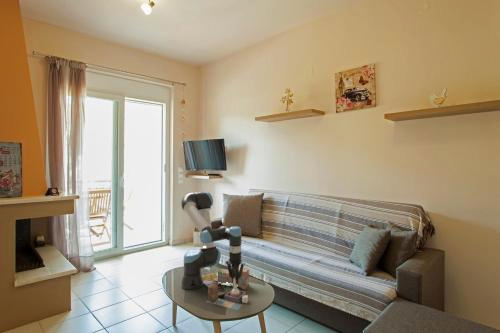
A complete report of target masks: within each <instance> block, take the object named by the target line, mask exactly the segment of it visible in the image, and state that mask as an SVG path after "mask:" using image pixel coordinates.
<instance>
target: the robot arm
mask: <svg viewBox="0 0 500 333" xmlns="http://www.w3.org/2000/svg"><path fill="white" fill-rule="evenodd" d="M180 205H181V209H182V211H183V212H184V213H185V214H187V215H188V217H189V218H190V220H191V222H193V224H194V226H195V227H196V229H197V230H198V231H199V239H200V240H199V241H200V242H201V247H200V249H192V250H191V249H190V250H189V251H187V252H185V253H184V255H183V276H182V280H181V282H180V283H181V288H182V289H184V290H187V291H192V290H197V289H200V288H202V287H203V286H204V280H203V276H202V273H201V272H202V271H201V270H202V269H205V268H208V267H214V266H216V265H218V264H219V263H220V261H221V256H222V255H221V250H220V249H219V248H218V247H217V245H216V244H215V242H217V241H223V240H224V241H225V240H226V241H227V240H228V242H229V246H228V247H229V253H228V254H229V255H228V256H229V259H228V260H227V261H225V264H226V266H227V270H228V272H229V276H230V277H232V283H233V287H232V289H236V288H237V284H238V282H239V278H241V276H242V272H243V268H245V266H246V263H244V262H243V260H242V228H241V226H236V225H235V226H230V227H229V226H225V225H224V226H223V225H222V226H220V227H218V228H214V229H213V228H212V221H211V214H210V211H211V209H212V206H214V198H213V196H212V194H211V193H210V192H208V191H198V192H190V193H187V194H185V195H184V196H183V198H182V199H181V204H180ZM231 267H232V268H231ZM239 267H240V270H239ZM237 289H238V288H237Z"/></svg>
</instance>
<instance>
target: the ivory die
mask: <svg viewBox="0 0 500 333" xmlns="http://www.w3.org/2000/svg"><path fill="white" fill-rule="evenodd" d="M248 302H249V295H247V294H246V295H243V297H242V300H241V303H246V304H248Z"/></svg>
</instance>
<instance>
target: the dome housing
mask: <svg viewBox="0 0 500 333" xmlns="http://www.w3.org/2000/svg"><path fill="white" fill-rule="evenodd" d="M232 290H233V288H231V289H230V290H229V291H228V292H227V293H225V294H224V300H226V301H230V302H234V303H238V304H240V303H241V302H242V297H243V295H247V291H244V290H240V289H238V290H239V291H240V292H241V295H240V296H239V297H234V296H230V291H232Z"/></svg>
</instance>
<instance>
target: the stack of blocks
mask: <svg viewBox="0 0 500 333" xmlns="http://www.w3.org/2000/svg"><path fill="white" fill-rule="evenodd" d="M240 267H241V266H239V270H240ZM231 268H232V267H231ZM249 271H250V268H246V267H243V272H242V276H241V278H239V282H238V284H237V285H238V287H240V288H239V289H241V288H242V290H247V288H248V287H249V286H250V284H249V282H250V281H249V280H250V272H249ZM218 282H221V283H226V282H228V283H232V277H230V276H229V272H228V269H224V268H220V269H219V270H218V271H217V283H218Z"/></svg>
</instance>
